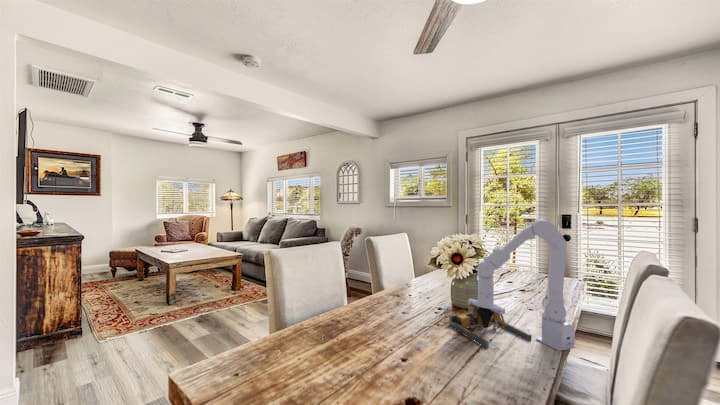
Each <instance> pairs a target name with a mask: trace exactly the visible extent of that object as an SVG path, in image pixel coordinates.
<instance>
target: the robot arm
mask: <svg viewBox="0 0 720 405" xmlns="http://www.w3.org/2000/svg"><path fill="white" fill-rule="evenodd" d="M536 236H537V237H539V238H540V239H542V240H544V241H545V243H547V245H549V246H550V248H549V261H548V272H547V275H548V276H547V286H546V287H547V288H546V291H545V296H544V298H543V299H542V301H541V303H542V304H541V305H542V308H543V310H544V311H543V312H542V314H541V336H539V337H536V338H535V340H536V341H538V342H540V343H543V344H544V345H547V346H548V347H551V348H553V349H555V350H556V351H560V352H562V351H561V350H563V351H567V350H573V349H576V348H577V346H576V345H575V343H576V341H575V340H576V338H575V336H576V334H575V331H576V330H575V327H574V326H573V324H571V323H569V322H568V321H567V318H566V317H567V310H566V307H565V305H564V304H565V303H564V302H565V298H564V285H565V284H564V283H565V282H564V281H565V272H566V271H565V270H566V259H567V258H566V256H567V246H568V245H567V241H566V239H565V238H564V236H563V235H562V233H561V232H560V231H559V229H558V226H556V225H554V224H553V223H552V222H551V221H549V220H546V219H544V218H538V219H535V220H533V222H532V223H530V224H528V225H527V226H525V227H524V228H523V229H522V230H520V231H519V232H518V233H517V234H516V235H515V236H514V237H513V238H512V239H511V240H509V242H508V243H507V244H505V245H504V246H503V247H501V246H499V247H497V248H493V249H492V252H491V253H490V254H489V255H488V256H486V257H483V260H481V262H479V264H478V266H477V267H476V268H477V269H476V270H477V273H478V276H477V299H476V298H469V299H468V300H467V304H468V305H469V304H470V305H471V304H472V305H475V306H478V307H479V309H477V311H478V313H479V315H480V317H481V320H482V323H483V326H482V327H483V329H488V328H489V326H490V325H489V322H490V319H491V317H492V315H493V313H494V312H497V313H499V314H501V315H502V316H504V315H505V314H506V308H504V307H501V306H499V305H497V304H495V303H494V302H495V301H494V300H495V299H494V298H495V297H494V296H495V295H494V292H495V291H494V290H495V288H494V286H495V285H494V284H495V283H494V273H495V271H497V270H499V269H500V268H501V267H502V266H503V265H504V264H506V263H507V262H508V261H509V260H510V259H511V254H512V253H513V252H514V251H515V250H516V249H518V248H519V247H520V246H521V245H523V244H524V243H525V242H527V241H531V240H535V239H537V237H536ZM501 315H500V316H501Z"/></svg>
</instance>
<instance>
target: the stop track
mask: <svg viewBox="0 0 720 405" xmlns="http://www.w3.org/2000/svg"><path fill="white" fill-rule="evenodd" d="M477 322H478V320H477V318H474V317H473V316H472V314H471V313H470V312H465V313H455V314H449V315H448V326H450V325H451V326H453V327H454V328H456V329H457V330H459V331H460V332H459V331H458V332H459V333H461V332H462V333H464V334H465V335H467V336H468V337H470V338H471V339H473V340H475V341H476V342H478V343H479V344H481V345H482V346H484V347H485V348H484V347H483V348H484V349H488V348H487V347H489V341H487V340H485V339H484V338H482V337H481V336H479V335H477V334H476V333H474V332H472V331H470V330H469V329H468V328H466V327H470V328H471V324H470V323H472V324H477ZM504 322H505V324H506V325H507V326H508V327H505V328H504V329H505V330H507V331H509V332H511V333H513V334H514V335H517V336H518V337H521V338H523V339H525V340H527V341H528V342H530V341H532V334H531V333H529V332H526V331H524V330H522V329H521V328H518V327H516V326H514V325H512V324H510V323H507V322H506V321H504ZM493 324H494V325H496V323H495V320H494V318H491V319H490V322H489V326H490V325H493ZM451 326H450V327H451ZM498 326H499V327H501V326H502V323H500V322H499V321H498ZM453 327H452V328H453ZM454 328H453V329H454ZM456 329H455V330H456ZM457 330H456V331H457ZM462 333H461V334H462ZM464 334H463V335H464ZM465 335H464V336H465ZM467 336H466V337H467ZM468 337H467V338H468ZM470 338H469V339H470ZM471 339H470V340H471ZM473 340H472V341H473ZM475 341H474V342H475ZM476 342H475V343H476ZM478 343H477V344H478ZM479 344H478V345H479ZM481 345H480V346H481ZM482 346H481V347H482Z"/></svg>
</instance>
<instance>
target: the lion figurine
mask: <svg viewBox="0 0 720 405" xmlns="http://www.w3.org/2000/svg"><path fill="white" fill-rule="evenodd" d="M467 309H468V311H469V312H468V313H471V314H472V316H473V317H474V318H477V320H478V324H476V327H483V323H482V320H481V317H480V315H479V313H478V311H477V309H479V307H478V306H475V305H472V304H471V305H470V304H468V308H467ZM491 318H494V320H495V323H496V324H495V323H494V325H493V328H498V326H499V325H498V321H499V322H500V323H502V326H500V328H502V329H505V327H508V326H507V325H506V324H505V322H506V321H505V319H504V315H501V314H499V313H497V312H494V313H493V315H492V317H491Z"/></svg>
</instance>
